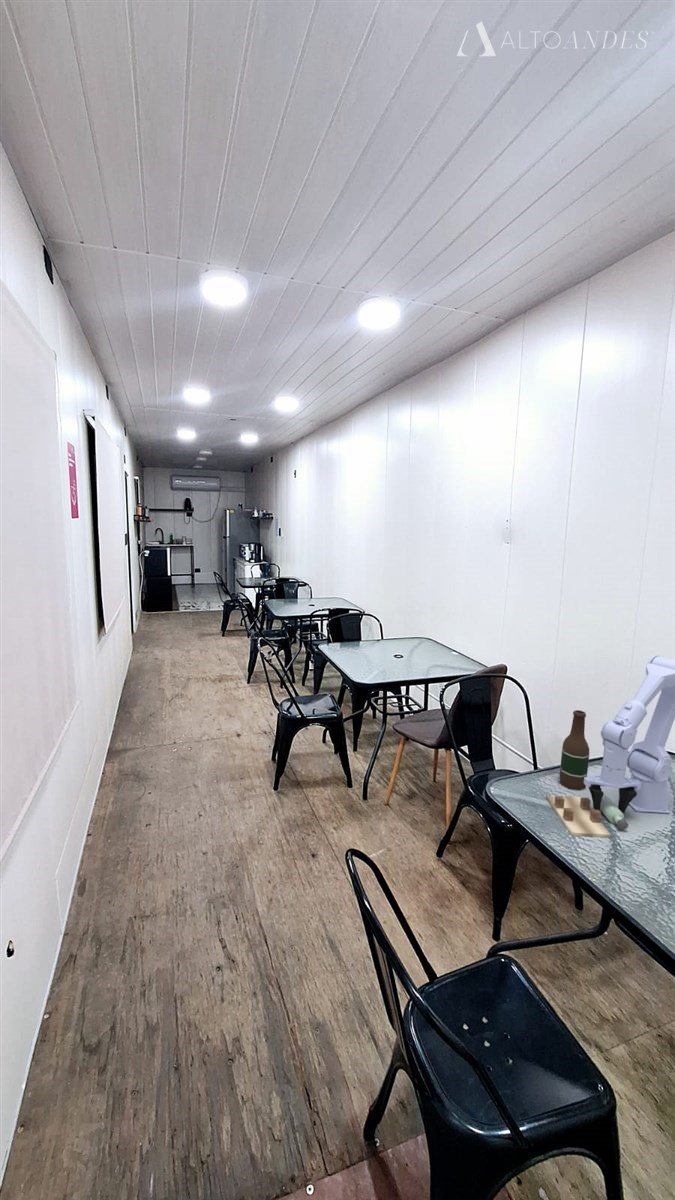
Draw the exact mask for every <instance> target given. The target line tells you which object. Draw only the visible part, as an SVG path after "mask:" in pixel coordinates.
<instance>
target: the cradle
mask: <svg viewBox="0 0 675 1200" xmlns="http://www.w3.org/2000/svg"><path fill="white" fill-rule="evenodd" d="M545 799H546V800H547V802H548V803H549V804H550V807H552V809H553V811H554V812H555V813H556V815H557V814H558V815H557V816H558V817H559V819H560V820H561V822H562V823H563V825H564V826H565V828H566V829H567V830H568V832H569V834H570V835H571V836H576V837H591V836H593V838H595V837H596V838H609V839H611V838H612V833H610V831H609V830H608V829H607V828H606V827H605V825H604V824H603V823H602V822H601V817H602V812H601V810H600V811H599V810H595V809H591V800H590V798H589V797H581V796H566V795H565V796H564V795H551V794H550V795H546V794H545Z"/></svg>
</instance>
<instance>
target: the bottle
mask: <svg viewBox="0 0 675 1200" xmlns="http://www.w3.org/2000/svg"><path fill="white" fill-rule="evenodd" d="M600 812H601V813H602V814H603V815H604V816H605V817H606V818H607V820H608V821H609V823H611V824H613V825H616V826H617V827H618V828H619V829H620V830H623V831H624V830H626V829H627V828H628V827H629V823H628V822H627V821H626V820H625V815H624V813H622V812H621V811H620V810H619V809H618V806H617V805H616V804H615V803H614V802H613V801H612V800H611V799H610V798H609V797H608V796H607V794H605V793H604V795H603V797H602V800H601V806H600Z"/></svg>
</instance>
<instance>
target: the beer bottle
mask: <svg viewBox="0 0 675 1200" xmlns="http://www.w3.org/2000/svg"><path fill="white" fill-rule="evenodd" d="M572 714H573V716H572V717H573V718H572V722H571V729H570V731H569V734H568V735H567V736H566V738H564V740H563V742H562V748H561V749H562V750H561V758H560V765H559V766H560V768H559V782H560V785H561V786H564V787H565V788H567V789H569V790H574V791H581V790H583V789H585V788H586V787H587V786H586V785H585V784H584V777H588V769H589V763H590V761H589V760H590V748H589V747H590V746H589V744H588V742H587V740H586V738H585V729H586V728H585V727H586V725H585V724H586V723H585V722H586V717H587V714H586V712H585V711H583V710H579V709H575V710H573V712H572Z"/></svg>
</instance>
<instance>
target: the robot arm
mask: <svg viewBox="0 0 675 1200" xmlns="http://www.w3.org/2000/svg"><path fill="white" fill-rule="evenodd" d="M659 693H660V694H659ZM658 694H659V697H658V699H657V702H656V705H655V708H654V711H653V714H652V716H651V719H650V722H649V725H648V728H647V730H646V734H645V736H644V739H643V740H641V741H639V742H635V740H636V736H637V733H638V730H637V729H638V728H639V726H640V725H641V723H642V722H643V720H644V719H645V718H646V716H647V714H648V710H647V707H648V706H649V705H650V704H651V702H652V701H653V700H654V699H655V698H656V696H657V695H658ZM674 721H675V659H671V658H667V657H663V656H660V655H656V654H655V655H653V656H652V657H651V658H649V660H648V662H647V664H646V666H645V678H644V680H643V682H642V683H641V685H640V687H639V689H638V691H637V692H636V694H635V696H634V697H633V699H632V700H626V701H625V703H623V705H622V707H621V708H620V710H619V711H618V712H617V713H616V714H615V716H614V717H613V719H612V720H610V721H607V722H605V723H604V724H603V726H602V729H601V730H600V737H601V738H602V743H601V744H602V745H603V754H602V756H603V757H602V763H601V765H602V766H601V773H600V774H599V775H592V776H587V777H584V784H585V785H586V787H587V788H588V789H589V792H590V795H591V799H592V807H593V810H599V811H600V812H601V810H600V806H601V800H602V797H603V795H604V794H605V793H604V792H603V790H602V788H601V787H603V788H604V787H606V788H613V789H618V803H617V808H618V809H619V810H620V811H621V812H622V813H623V814H625V813H626V810H627V809H628V806H631V808H633V810H634V811H635V812H641V813H642V812H643V813H646V812H647V813H661V814H670V813H671V812H670V810H669V805H670V798H671V792H672V791H671V790H672V789H671V785H670V783H669V781H668V778H669V776H670V775H671V765H672V760H673V758H672V757H671V755H670V754H669V753H668V752H667V750H666V749H665V747H666V744H667V741H668V739H669V736H670V733H671V730H672V727H673V725H674ZM630 747H631V749H630V750H629V748H630ZM627 768H628V769H629V771H628V772H629V773H631V777H630V778H627V777H626V773H627V772H626V770H627Z"/></svg>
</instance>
